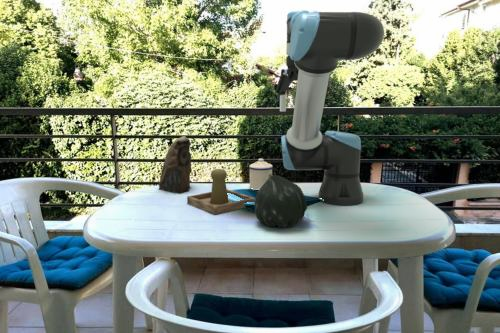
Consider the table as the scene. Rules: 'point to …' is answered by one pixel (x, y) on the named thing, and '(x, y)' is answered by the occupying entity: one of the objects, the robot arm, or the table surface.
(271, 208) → the squash
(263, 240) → the table surface
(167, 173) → the owl
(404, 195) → the table surface
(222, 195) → the cork
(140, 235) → the table surface
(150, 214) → the table surface
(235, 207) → the tray
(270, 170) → the teacup with lid
